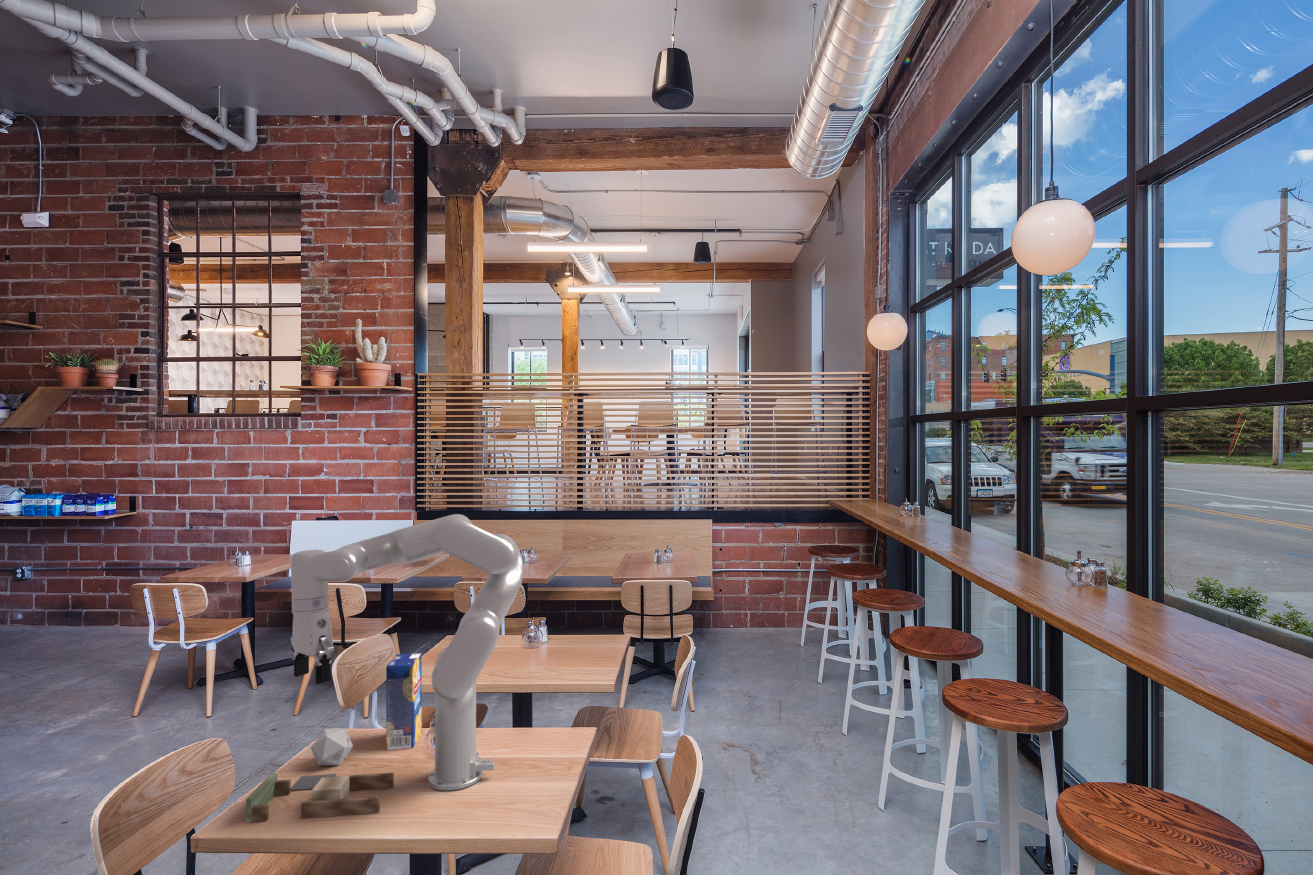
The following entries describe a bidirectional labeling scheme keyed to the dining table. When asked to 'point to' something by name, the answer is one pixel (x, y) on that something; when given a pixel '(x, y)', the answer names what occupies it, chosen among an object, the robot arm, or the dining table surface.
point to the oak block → (331, 788)
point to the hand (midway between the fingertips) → (312, 678)
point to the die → (331, 747)
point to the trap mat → (308, 782)
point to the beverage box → (403, 701)
